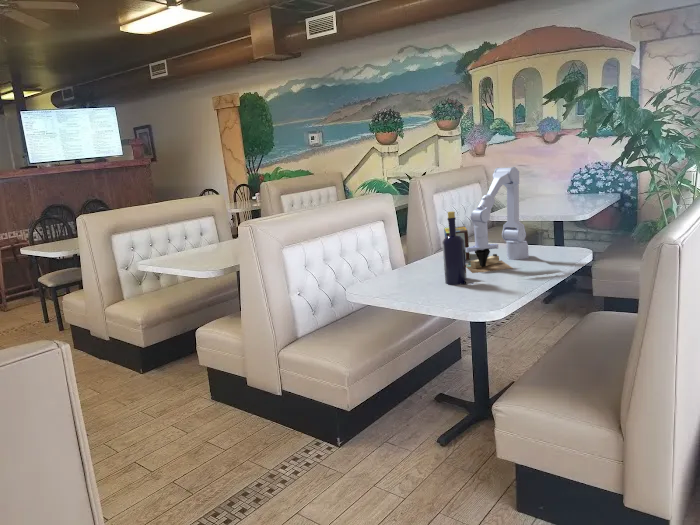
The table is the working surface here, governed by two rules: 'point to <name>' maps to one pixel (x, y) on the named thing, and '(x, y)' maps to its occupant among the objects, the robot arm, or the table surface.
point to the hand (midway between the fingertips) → (483, 266)
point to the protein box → (464, 235)
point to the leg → (489, 261)
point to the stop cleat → (470, 261)
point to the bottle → (454, 255)
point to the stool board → (490, 267)
